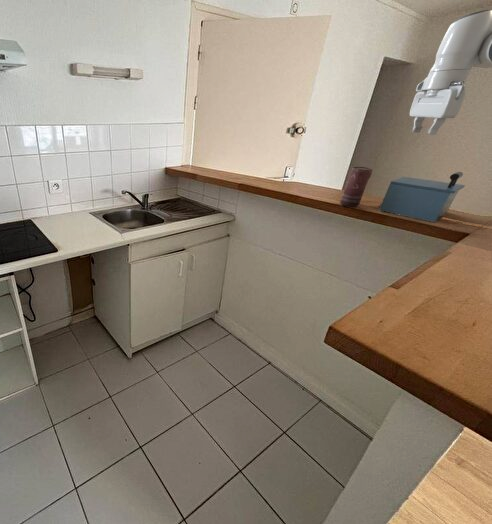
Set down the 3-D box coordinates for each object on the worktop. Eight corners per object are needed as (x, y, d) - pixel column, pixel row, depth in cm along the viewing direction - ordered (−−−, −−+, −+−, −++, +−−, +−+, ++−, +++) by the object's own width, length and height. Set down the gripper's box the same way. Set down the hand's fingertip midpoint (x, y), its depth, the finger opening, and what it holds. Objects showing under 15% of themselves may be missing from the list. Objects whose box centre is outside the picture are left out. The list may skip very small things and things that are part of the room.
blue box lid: (463, 187, 93) (472, 171, 91) (453, 193, 87) (462, 176, 85) (402, 178, 105) (409, 164, 103) (389, 183, 99) (396, 168, 96)
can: (359, 208, 106) (374, 170, 99) (339, 205, 109) (352, 168, 102) (358, 204, 110) (372, 167, 103) (339, 201, 113) (352, 165, 106)
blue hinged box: (445, 215, 99) (460, 187, 94) (434, 222, 92) (450, 193, 88) (391, 204, 110) (402, 178, 105) (378, 210, 104) (389, 183, 99)
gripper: (482, 79, 75) (455, 136, 81) (438, 84, 92) (419, 131, 98) (452, 80, 76) (428, 136, 83) (414, 85, 93) (397, 131, 100)
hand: (423, 133), depth 91 cm, fingers open, 8 cm apart
